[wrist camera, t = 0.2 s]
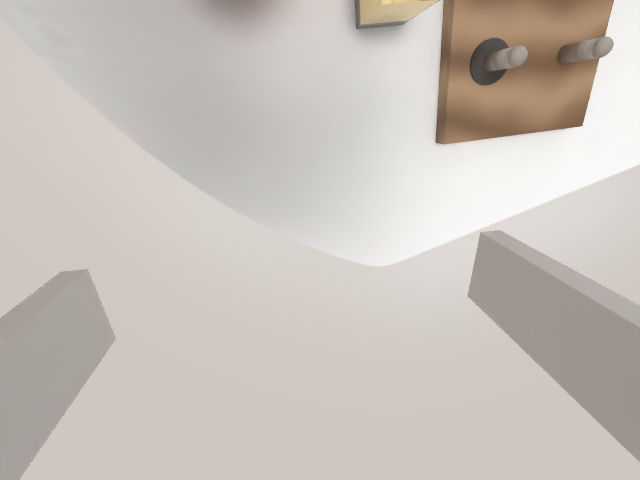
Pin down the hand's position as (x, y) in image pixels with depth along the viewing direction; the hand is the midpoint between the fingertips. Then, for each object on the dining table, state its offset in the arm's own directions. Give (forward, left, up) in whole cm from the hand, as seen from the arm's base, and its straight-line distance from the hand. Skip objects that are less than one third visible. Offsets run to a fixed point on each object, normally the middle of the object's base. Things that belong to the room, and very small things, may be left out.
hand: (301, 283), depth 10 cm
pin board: (-8, +28, -27) cm, 40 cm away
